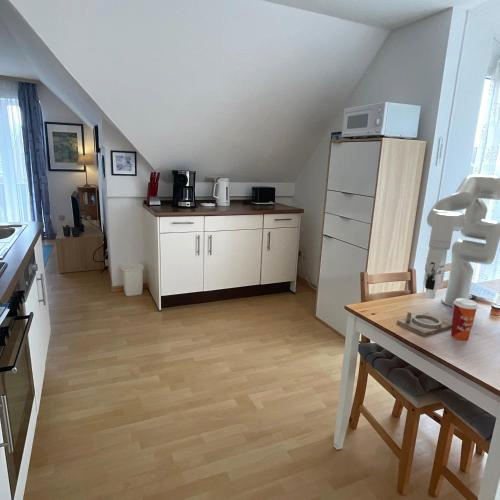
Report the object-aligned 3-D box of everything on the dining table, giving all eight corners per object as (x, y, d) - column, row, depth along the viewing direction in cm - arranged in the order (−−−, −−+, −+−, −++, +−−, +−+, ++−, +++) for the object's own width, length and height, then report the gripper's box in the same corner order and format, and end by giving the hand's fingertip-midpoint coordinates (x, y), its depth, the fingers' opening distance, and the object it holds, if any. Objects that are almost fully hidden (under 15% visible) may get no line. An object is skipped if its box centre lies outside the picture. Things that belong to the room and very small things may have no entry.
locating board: (427, 315, 162) (429, 303, 161) (455, 327, 151) (457, 315, 150) (396, 323, 153) (398, 311, 151) (424, 336, 142) (426, 323, 140)
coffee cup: (459, 343, 137) (466, 306, 134) (442, 333, 145) (449, 298, 141) (476, 340, 140) (484, 304, 136) (459, 331, 147) (466, 296, 144)
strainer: (437, 295, 151) (443, 261, 148) (442, 301, 145) (448, 265, 141) (419, 293, 153) (424, 259, 149) (423, 299, 146) (429, 264, 142)
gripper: (436, 239, 152) (429, 280, 156) (422, 245, 140) (415, 289, 144) (456, 243, 147) (448, 284, 151) (443, 249, 135) (435, 294, 139)
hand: (432, 286), depth 148 cm, fingers closed on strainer, 6 cm apart
